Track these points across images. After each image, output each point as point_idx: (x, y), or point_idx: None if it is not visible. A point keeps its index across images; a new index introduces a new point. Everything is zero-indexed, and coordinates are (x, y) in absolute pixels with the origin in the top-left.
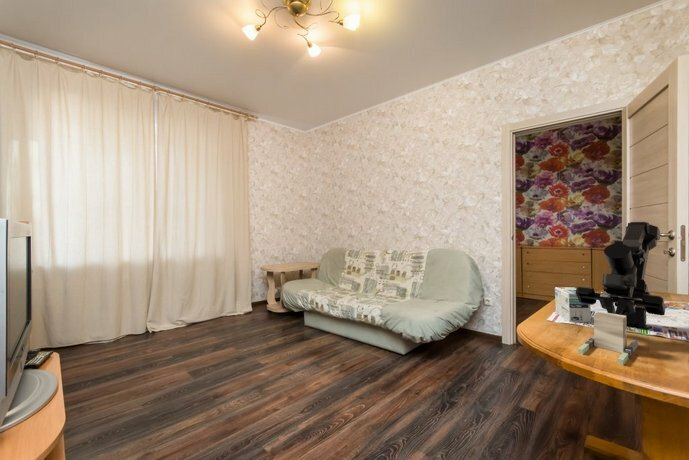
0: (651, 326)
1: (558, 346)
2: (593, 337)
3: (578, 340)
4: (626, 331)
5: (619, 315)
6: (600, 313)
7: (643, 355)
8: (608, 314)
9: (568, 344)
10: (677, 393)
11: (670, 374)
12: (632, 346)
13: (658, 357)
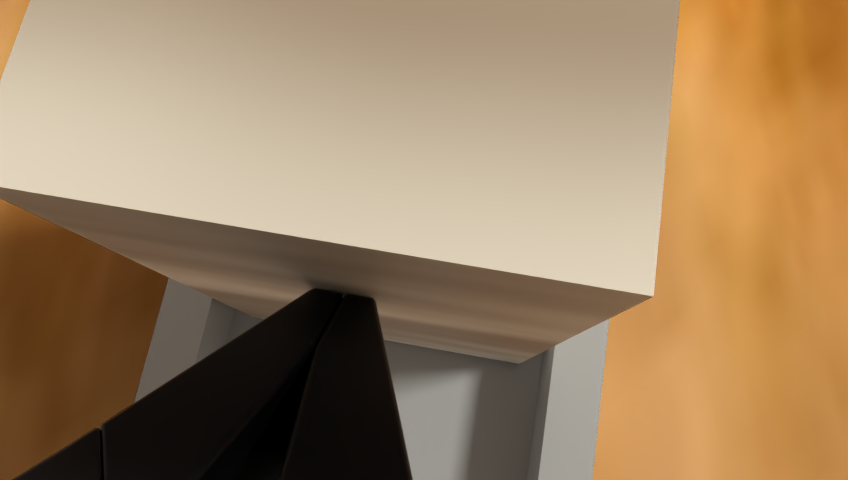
0: None
1: (840, 101)
2: (582, 342)
3: (727, 437)
4: (164, 272)
5: (123, 136)
6: (563, 67)
7: (128, 341)
8: (375, 74)
9: (780, 222)
10: None
11: (14, 3)
12: None
13: (8, 369)
